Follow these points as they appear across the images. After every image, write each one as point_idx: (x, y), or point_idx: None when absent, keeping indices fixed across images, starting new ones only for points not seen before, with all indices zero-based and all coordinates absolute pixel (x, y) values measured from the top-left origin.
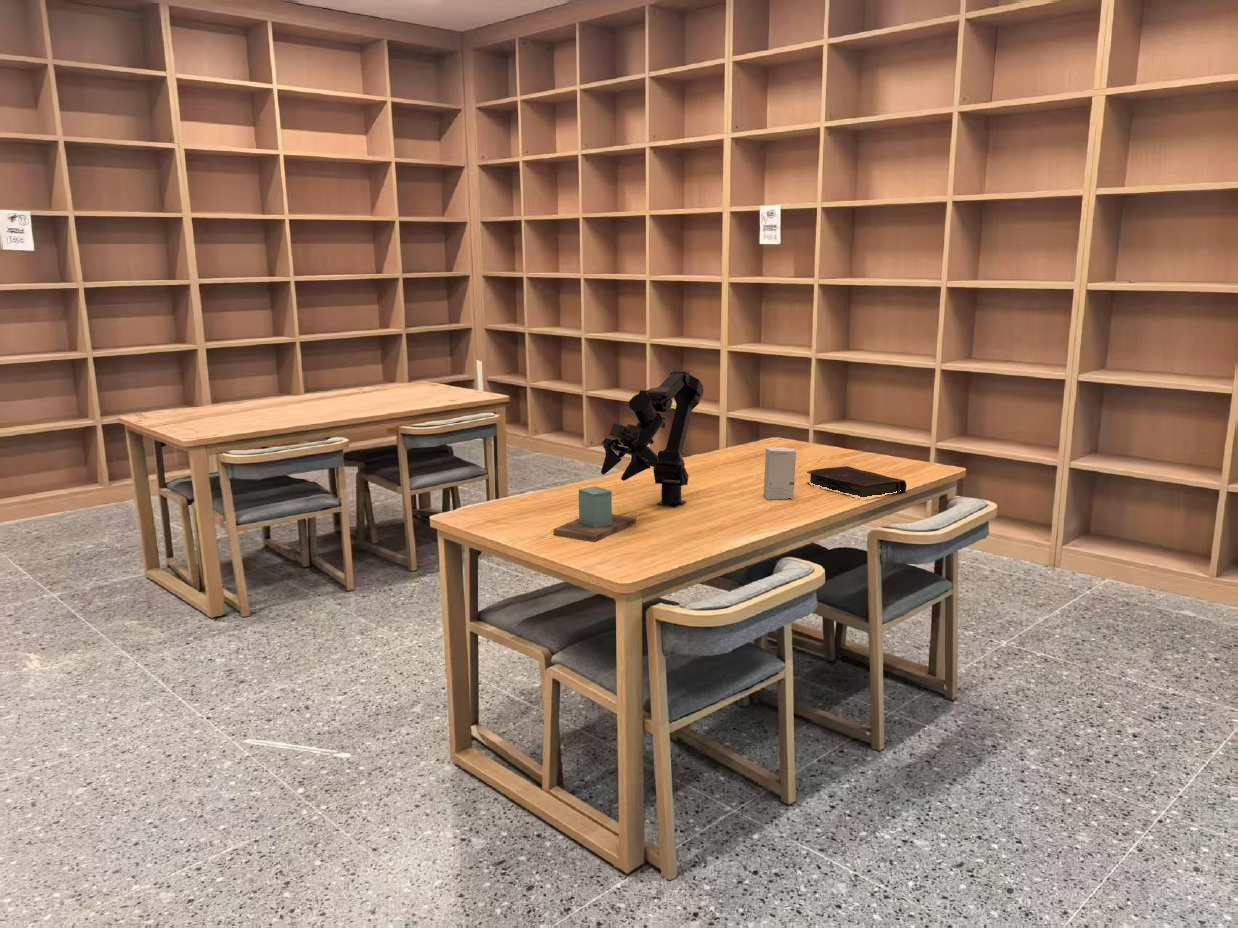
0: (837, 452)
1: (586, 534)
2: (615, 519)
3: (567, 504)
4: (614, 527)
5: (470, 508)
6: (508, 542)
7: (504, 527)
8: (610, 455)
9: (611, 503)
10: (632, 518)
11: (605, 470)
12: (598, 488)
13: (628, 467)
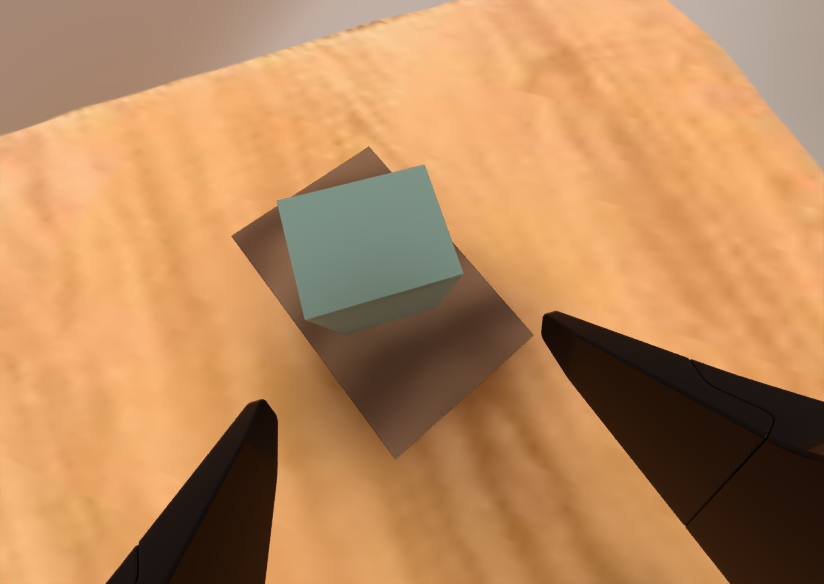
0: None
1: (264, 215)
2: (403, 370)
3: (714, 298)
4: (301, 329)
5: (709, 43)
6: (348, 45)
7: (492, 69)
8: (785, 474)
9: (325, 326)
10: (391, 441)
11: (567, 354)
12: (400, 268)
13: (158, 541)
